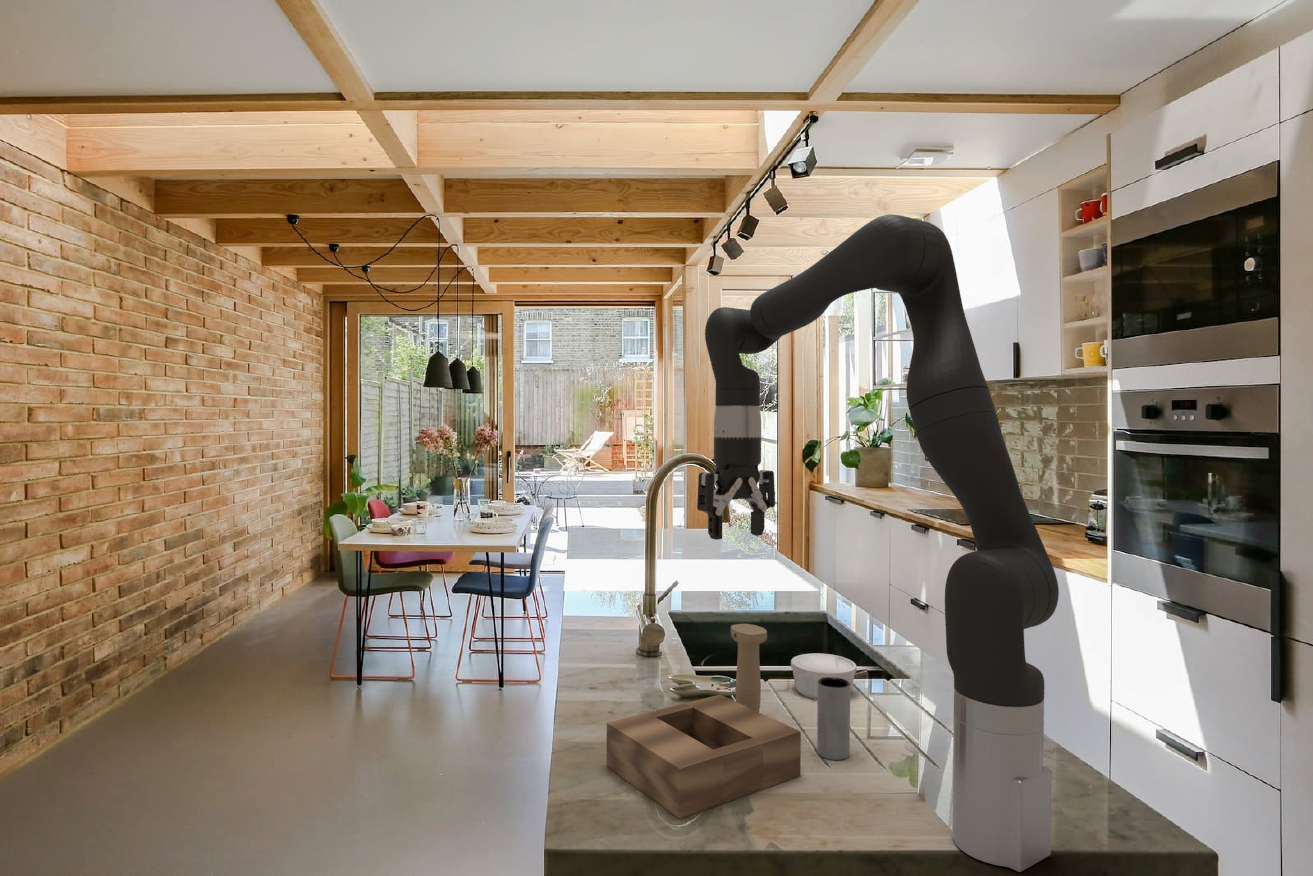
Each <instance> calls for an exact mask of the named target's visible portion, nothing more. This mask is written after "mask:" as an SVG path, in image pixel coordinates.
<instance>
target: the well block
mask: <svg viewBox="0 0 1313 876" xmlns="http://www.w3.org/2000/svg"><path fill="white" fill-rule="evenodd" d="M801 733H802V731H801V730H798V729H796V728H794V727H792V726H789V725H788V724H785V723H782V722H780V721H779V720H776V719H775V718H772V717H770V716H768V715H766V714H764V713H761V712H760V711H759V712H757V711H755V710H753V709H751V708H749V707H746V706H744V705H742V704H740V703H738V702H736V700H734V699H731V698H730V697H727V696H725V695H723V694H717V695H713V696H709V697H705V698H704V697H703V698H701V699H697V700H692V701H689V702H685V703H684V702H683V703H682V704H677V705H673V706H669V707H664V708H662V709H661V708H660V709H656V710H652V711H649V712H645V713H644V712H643V713H640V714H637V715H633V716H628V717H625V718H620V719H617V720H616V719H615V720H613V721H609V722H606V767H607V768H608V769H610V770H611V771H612V772H614V773H615V774H617V775H618V776H619V777H621V778H622V779H624V780H625V781H627V782H628V783H630V785H632V786H633V787H635V788H636V789H637V790H639V791H641V792H642V793H643V794H645V796H646V797H649V798H650V799H652V801H654V802H656V803H657V804H658V805H659V806H661V807H662V808H664V809H665V810H667V811H668V812H669V813H671V814H672V815H674V816H675V817H676V818H678V819H682V818H685V817H688V816H692V815H694V814H696V813H699V812H702V811H707V810H708V809H711V808H713V807H717V806H719V805H722V804H725V803H728V802H730V801H734V800H737V799H739V798H743V797H745V796H748V795H751V794H754V793H756V792H759V791H762V790H764V789H767V788H771V787H774V786H776V785H779V784H783V783H784V782H788V781H791V780H793V779H796V778H799V777H801V774H802V773H801V770H802V769H801V767H802V766H801V761H802V760H801V753H802V752H801V751H802V750H801V749H802V747H801V746H802V745H801V744H802V742H801V741H802V739H801V738H802V734H801Z"/></svg>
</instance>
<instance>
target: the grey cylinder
mask: <svg viewBox="0 0 1313 876" xmlns="http://www.w3.org/2000/svg"><path fill="white" fill-rule="evenodd" d="M816 704H817V706H816V707H817V709H816V710H817V718H816V720H817V721H816V722H817V723H816V725H817V726H816V727H817V729H816V733H817V734H816V735H817V736H816V741H817V742H816V750H817V751H816V753H817V754H818V756H820V757H822V758H824V759H826V760H832V761H842V760H846V759H848V758H849V756H850V753H851V752H850V751H851V750H850V749H851V748H850V747H851V745H850V743H851V693H850V683H849V682H848V681H847V680H845V679H841V678H836V677H826V678H821V679H819V680H818V699H817V703H816Z"/></svg>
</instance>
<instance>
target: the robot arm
mask: <svg viewBox="0 0 1313 876" xmlns="http://www.w3.org/2000/svg"><path fill="white" fill-rule="evenodd" d="M957 275H958V274H957V269H956V263H955V260H954V255H953V251H952V247H951V245H950V242H949V240H948V238H947V236H946V234H945V233H944V232H943V231H942V230H941V229H940V228H939V227H938V226H937V225H935V224H933V223H931V222H928V221H926V220H925V221H924V220H921V219H918V218H913V217H909V216H905V215H899V214H884V215H881V216H878V217H876V218H874V219H872V220H870V221H869V222H868V223H865V224H864V225H863V226H861V227H860V228H859V229H857V230H856V231H855V232H853V233H852V234H851V235H850V236H849V237H848V238H846V239H845V240H844V241H842V242H841V243H840V244H839V245H838V246H836V247H835V248H834V249H832V250H831V251H830V252H828V253H827V254H825V256H824V257H822V258H821V259H819V260H818V261H817V262H815V263H813V265H811V266H809V267H808V268H807V269H805V270H803V271H802V272H800V273H799V274H797V275H796V276H794V277H792V278H790V279H788V280H786V281H784V282H782V283H780V284H778V285H777V286H774V287H773V288H770V289H769V290H766V291H765V292H763V293H761V294H760V295H758V296H757V297H756V298H755V299H754V300H753V302H752V303H751V306H750V309H746V308H745V309H744V308H735V307H727V306H723V307H717V308H716V309H714V310H713V311H712V312H711V314H710V315H709V317H708V319H707V320H706V324H705V330H704V339H705V344H706V350H707V353H708V356H709V360H710V364H711V369H712V373H713V376H714V380H715V399H714V400H715V409H714V411H715V412H714V417H713V463H714V464H715V472H714V473H713V472H703V471H702V472H700V473H698V483H697V484H698V485H697V503H696V504H697V505H696V508H697V511H700V512H704V513H706V515H707V518H708V519H707V528H708V529H707V533H708V535H709V537H710V539H712V540H716V541H717V540H722V539H723V515H722V513H723V511H724V510H725V508H726V507H727V505H729V504H730V503H731V501H732V500H733V501H734V500H740V499H743V500H744V501H745V502H747V503H748V505H749V507H750V508H751V510H752V511H750V534H751V535H752V536H762V535H763V534H764V532H765V527H766V526H765V524H766V523H765V519H766V518H765V514H766V511H767V510H768V509H770V508H774V507H775V506H776V491H775V490H776V489H775V474H774V473H775V472H774V471H773V470H766V469H759V465H761V464H762V417H761V407H760V406H761V381H760V379H761V378H760V375H759V373H758V372H757V371H756V370H754V369H751V368H748V367H747V366H745V365H744V364H743V362H742V359H741V354H742V355H754V354H760V353H763V352H764V351H766V350H768V349H769V348H770V347H772V346H773V345H774V344H775V343H776V342H777V341H778V340H780V338H782V337H783V336H785V335H789V334H790V333H793V332H795V331H797V330H800V329H803V328H804V327H806V326H808V325H810V324H811V323H813V322H815V321H816V320H817V319H819V318H820V317H821V316H822V315H823V314H824V313H825V312H826V310H827V309H828V308H829V307H830V305H831V304H832V303H833V302H834V301H836V300H838V299H840V298H843V297H844V296H847V295H850V294H854V293H857V292H861V291H866V290H871V289H876V290H878V291H883V292H884V291H885V292H890V293H898V294H899V296H900V298H901V300H902V303H903V305H904V308H905V310H906V312H907V313H906V314H907V316H908V320H909V323H910V326H911V327H910V328H911V332H912V338H913V339H912V341H913V344H912V353H911V359H910V362H909V363H910V364H909V368H908V372H907V380H906V387H905V388H906V391H905V392H906V393H905V394H906V402H907V407H908V410H909V413H910V417H911V421H912V424H913V428H914V432H915V434H916V438H917V442H918V444H919V446H920V449H921V451H922V453H923V454H924V456H925V458H926V459H927V461H928V462H929V464H930V466H931V467H932V468H933V469H934V471H935V472H936V473H937V475H938V476H939V477H940V479H941V480H942V481H943V482H944V484H945V485H946V487H947V488H948V490H950V491H951V493H952V494H953V496H954V497H955V498H956V500H957V501H958V502H959V504H960V506H961V508H962V510H963V512H964V514H965V516H966V518H967V520H968V524H969V526H970V529H971V532H972V535H973V536H972V537H973V539H974V541H975V542H974V543H975V546H976V551H970V552H967V553H965V554H963V555H961V556H960V557H958V558H957V559H956V560H955V561H954V562H953V564H952V565H951V566H950V568H949V570H948V573H947V576H946V582H945V586H944V618H945V619H944V621H945V643H946V644H945V645H946V655H947V656H946V657H947V661H948V664H949V666H950V668H951V671H952V674H953V727H952V728H953V729H952V730H953V731H952V732H953V733H952V735H953V738H952V739H953V740H952V741H953V742H952V743H953V744H952V747H953V748H952V814H951V816H952V818H951V819H952V822H951V823H952V825H951V826H952V830H951V832H952V834H951V836H952V840H953V843H954V844H955V846H957V847H958V849H960V850H961V851H962V852H964V853H965V854H966V855H968V856H970V857H972V858H974V859H976V860H979V861H981V862H983V863H987V864H991V865H994V866H999V867H1006V868H1009V869H1012V870H1014V871H1015V872H1019V873H1022V872H1023V871H1025V870H1026V869H1028V868H1029V869H1030V867H1032V866H1034V865H1035V864H1037V863H1039V862H1041V861H1042V860H1044V859H1046V858H1048V857H1050V856H1051V851H1052V849H1051V846H1052V843H1051V842H1052V840H1051V839H1052V837H1051V836H1052V786H1053V785H1052V782H1053V781H1052V780H1053V779H1052V778H1053V776H1052V774H1053V772H1052V769H1051V768H1050V767H1048V766H1047V767H1046V766H1045V765H1044V748H1045V747H1044V742H1045V741H1044V740H1045V739H1044V734H1045V729H1044V728H1045V726H1044V725H1045V677H1044V675H1043V673H1042V672H1041V670H1040V669H1039V668H1037V667H1036V666H1034V665H1032V664H1031V663H1028V662H1027V660H1026V652H1025V651H1026V650H1025V630H1026V629H1030V628H1034V627H1036V626H1039V625H1042V624H1043V623H1045V622H1047V621H1048V620H1049V619H1051V617H1052V616H1053V615H1054V613H1055V611H1056V609H1057V606H1058V604H1059V603H1058V602H1059V594H1060V592H1059V591H1060V590H1059V584H1058V582H1059V581H1058V579H1057V575H1056V572H1055V569H1054V566H1053V564H1052V561H1051V559H1050V557H1049V555H1048V552H1047V550H1046V548H1045V546H1044V543H1043V541H1042V539H1041V536H1040V534H1039V532H1038V530H1037V527H1036V526H1035V523H1034V521H1033V518H1032V516H1031V514H1030V511H1029V509H1028V506H1027V504H1026V502H1025V499H1024V497H1023V494H1022V491H1021V487H1020V485H1019V482H1018V478H1017V475H1016V473H1015V469H1014V466H1013V463H1012V460H1011V457H1010V453H1009V451H1008V448H1007V445H1006V442H1005V440H1004V439H1005V438H1004V437H1003V436H1004V435H1003V433H1002V428H1001V425H1000V421H999V417H998V413H997V411H996V408H995V404H994V402H993V399H992V395H991V392H990V390H989V389H990V388H989V385H988V383H987V380H986V378H985V376H984V373H983V370H982V367H981V366H982V365H981V364H980V360H979V357H978V354H977V351H976V346H975V343H974V341H973V336H972V333H971V330H970V328H969V325H968V321H967V319H966V314H965V310H964V306H963V301H962V295H961V290H960V287H959V280H958V276H957ZM757 484H758V486H757ZM715 486H716V487H715Z"/></svg>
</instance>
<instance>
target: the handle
mask: <svg viewBox="0 0 1313 876" xmlns="http://www.w3.org/2000/svg"><path fill="white" fill-rule="evenodd" d="M730 635H731V638H732V640H734V641H735V642H736V643H737V663H736V677H735V701H736V702H738V703H740V704H742V705H744V706H746V707H749V708H751V709H753V710H755V711H757V712H759V713H760V709H761V708H760V707H761V696H762V695H761V694H762V692H761V691H762V688H761V687H762V685H761V684H762V683H761V681H762V680H761V667H760V644H762V643H764V642H766V641H767V639H768V631H767V629H766V628H764V627H762V626H759V625H756V624H750V623H736V624H732V625H730Z"/></svg>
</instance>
